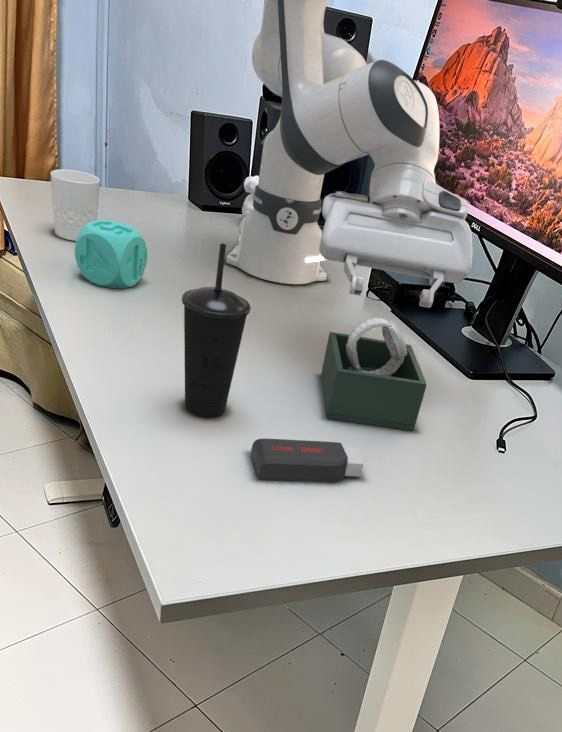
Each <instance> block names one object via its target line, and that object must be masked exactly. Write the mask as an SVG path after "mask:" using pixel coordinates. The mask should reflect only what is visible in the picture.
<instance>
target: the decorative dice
mask: <svg viewBox="0 0 562 732" xmlns="http://www.w3.org/2000/svg"><path fill="white" fill-rule="evenodd" d="M74 258H75V262H76V265H77V268H78V269H79V271H80V273H81V274H82V276H83V277H84V278H85V279H86V280H87V281H88V282H90V283H92V284H94V285H96V286H100V287H102V288H103V287H104V288H109V289H127V288H131V287H134V286H135V285H136V284H138V282H139V281H140V280H141V279H142V277H143V275H144V274H145V273H144V272H145V271H146V268H147V263H148V246H147V244H146V241H145V239H144V237H143V236H142V234H141V233H140V231H139V230H138V229H137V228H135V227H134V226H131V225H129V224H126V223H123V222H119V221H112V220H97V221H91V222H89V223H87V224H86V225H85V226H84V227H83V228H82V229H81V231H80V233H79V235H78V237H77V240H76V241H75V245H74Z"/></svg>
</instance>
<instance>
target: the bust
mask: <svg viewBox="0 0 562 732" xmlns="http://www.w3.org/2000/svg"><path fill="white" fill-rule="evenodd" d="M258 182H259V175H254V176H252V175H250V176H247V177H246V178H245V179H244V182H243V189H244V191H245V193H250V194H248V195H247V196H246V197H245V199H244V201H243V205H242V208H241V214H242V215H241V216H242V219H243V218H246V216H247V215H248V214H250V213H251V212H252V210H253V209H254V207H253V199H254V198H253V195H254V192H255V187H256V185H258Z"/></svg>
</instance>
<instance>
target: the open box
mask: <svg viewBox="0 0 562 732" xmlns="http://www.w3.org/2000/svg"><path fill="white" fill-rule="evenodd" d="M349 335H350V334H347V333H340V332H334V331H329V334H328V339H327V344H326V348H325V353H324V359H323V362H322V363H323V364H322V368H321V373H320V382H321V388H322V394H323V401H324V408H325V414H326V419H327V420H333V421H341V422H348V423H354V424H362V425H368V426H375V427H382V428H390V429H397V430H402V431H403V430H405V431H411V432H414V430H415V427H416V424H417V420H418V417H419V413H420V410H421V406H422V402H423V399H424V396H425V394H426V393H425V392H426V389H427V386H428V384H427V381H426V378H425V376H424V373H423V371H422V369H421V366H420V364H419V362H418V361H419V360H418V359H417V357H416V354H415V352H414V349H413V346H412V345H411V344H407V343H405V344H406V347H407V355H406V356H404V361H403V363H402V364H401V365H400V367H399V368H398V369H397V370H396V371H395V372H394V373H393V374H392V375H390V376H384V375H378V374H371V373H365V372H359V371H352V370H346V369H347V367H352V366H351V364H350V362H349V359H348V356H347V351H346V344H347V341H348V337H349ZM356 345H357V348H356V351H357V356H358V362H359V365H360V367H366V368H376V369H380V368H381V367H383V366H384V365H386V363H387V362H388V361H389V360H390V359H391V357H392V356H391V355H390V351H389V349H388V347H387V345H386V343H385V340H384V339H376V338H370V337H364V336H361V337H360V338H359V340H358V341H357V343H356ZM390 361H391V360H390Z"/></svg>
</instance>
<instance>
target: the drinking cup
mask: <svg viewBox="0 0 562 732" xmlns="http://www.w3.org/2000/svg"><path fill="white" fill-rule="evenodd" d="M226 252H227V244H226V243H222V242H221V243H219V250H218V258H217V260H218V261H217V268H216V269H217V270H216V277H215V286H202V287H199V288H193V289H189V290H187V291H185V292H183V294H182V295H181V303H182V304H183V316H184V317H183V321H184V322H183V324H184V325H183V327H184V329H183V331H184V336H183V338H184V339H183V340H184V408H185V410H186V411H187V412H188V413H189V414H191V415H194V416H196V417H198V418H199V417H200V418H205V419H208V418H209V419H213V418H215V419H216V418H219V417H221V416H223V415H224V413H225V412H226V408H227V404H228V398H229V394H230V390H231V385H232V381H233V379H234V378H233V377H234V374H235V373H234V372H235V368H236V364H237V360H238V356H239V351H240V347H241V342H242V338H243V334H244V330H245V326H246V321H247V317H248V315H250V313H251V310H252V309H251V307H252V306H251V304H250V302H249V301H248V300H247V299H245V298H243V297H242V296H240V295H238V294H236V293H235V292H234V291H231V290H229V289H225V288H222V285H223V277H224V270H225V262H226Z"/></svg>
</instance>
